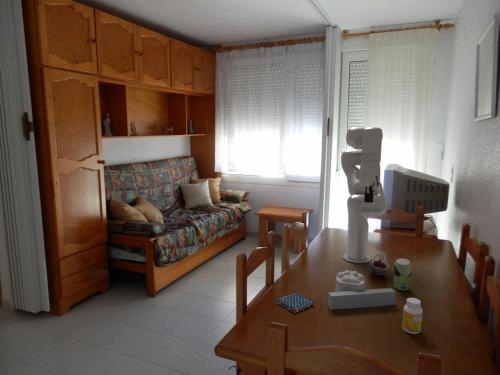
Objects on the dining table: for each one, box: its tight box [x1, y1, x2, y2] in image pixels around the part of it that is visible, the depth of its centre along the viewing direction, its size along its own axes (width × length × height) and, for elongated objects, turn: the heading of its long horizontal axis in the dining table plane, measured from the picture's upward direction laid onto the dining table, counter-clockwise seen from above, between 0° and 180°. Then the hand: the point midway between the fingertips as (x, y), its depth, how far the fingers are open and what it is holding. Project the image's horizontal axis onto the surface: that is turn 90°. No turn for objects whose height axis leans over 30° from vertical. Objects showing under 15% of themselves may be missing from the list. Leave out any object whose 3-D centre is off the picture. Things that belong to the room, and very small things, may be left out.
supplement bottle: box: [401, 297, 423, 335], centre depth 114 cm, size 5×5×10 cm
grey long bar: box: [327, 287, 397, 311], centre depth 130 cm, size 3×24×5 cm, turn 100°
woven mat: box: [275, 291, 316, 314], centre depth 131 cm, size 10×11×2 cm
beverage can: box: [393, 258, 412, 292], centre depth 143 cm, size 6×7×12 cm
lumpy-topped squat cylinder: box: [335, 269, 366, 292], centre depth 138 cm, size 10×13×9 cm
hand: (368, 202), depth 153 cm, fingers closed
